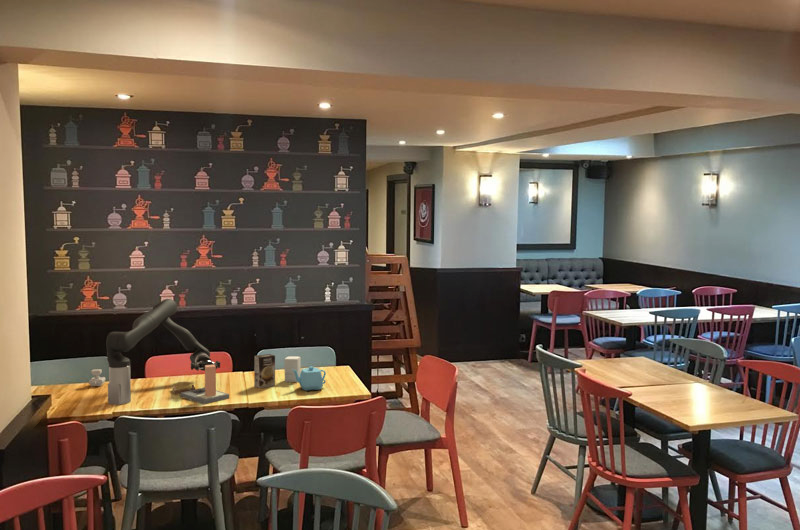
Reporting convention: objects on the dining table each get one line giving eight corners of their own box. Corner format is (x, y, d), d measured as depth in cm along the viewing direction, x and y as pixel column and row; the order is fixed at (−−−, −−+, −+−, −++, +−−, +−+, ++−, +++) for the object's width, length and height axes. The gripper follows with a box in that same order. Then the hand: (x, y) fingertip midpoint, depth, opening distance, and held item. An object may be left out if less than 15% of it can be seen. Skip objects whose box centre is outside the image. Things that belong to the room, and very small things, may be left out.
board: (229, 398, 313) (229, 393, 312) (204, 404, 302) (203, 399, 302) (205, 391, 325) (205, 386, 325) (180, 396, 315) (180, 392, 314)
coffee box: (259, 388, 331) (259, 357, 330) (254, 386, 336) (253, 355, 335) (275, 385, 337) (275, 355, 336) (269, 383, 342) (269, 353, 341)
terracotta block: (216, 395, 309) (215, 366, 308) (206, 396, 307) (205, 367, 307) (214, 393, 313) (214, 364, 312) (205, 394, 312) (204, 365, 311)
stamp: (102, 387, 331) (101, 371, 330) (88, 388, 330) (87, 372, 329) (106, 383, 340) (105, 367, 339) (92, 384, 338) (92, 368, 338)
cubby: (195, 392, 322) (195, 388, 322) (174, 394, 319) (174, 390, 318) (193, 388, 331) (193, 384, 331) (172, 390, 327) (172, 386, 327)
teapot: (288, 387, 334) (288, 365, 334) (323, 384, 340) (323, 363, 340) (293, 393, 323) (293, 370, 322) (328, 390, 329) (328, 368, 328)
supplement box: (301, 379, 352) (301, 356, 351) (297, 382, 345) (297, 359, 344) (287, 378, 353) (287, 355, 352) (284, 382, 346) (284, 358, 345)
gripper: (188, 355, 332) (191, 361, 317) (217, 353, 338) (221, 359, 323) (188, 370, 332) (191, 376, 317) (217, 368, 338) (221, 374, 323)
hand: (206, 368), depth 320 cm, fingers open, 8 cm apart
